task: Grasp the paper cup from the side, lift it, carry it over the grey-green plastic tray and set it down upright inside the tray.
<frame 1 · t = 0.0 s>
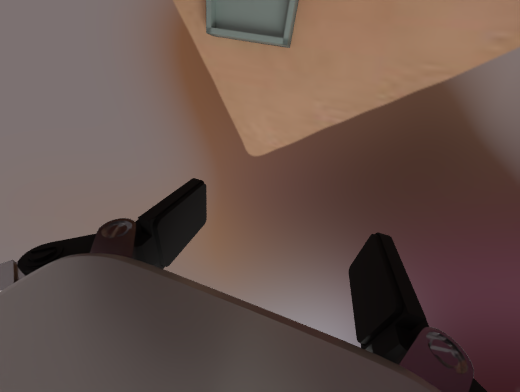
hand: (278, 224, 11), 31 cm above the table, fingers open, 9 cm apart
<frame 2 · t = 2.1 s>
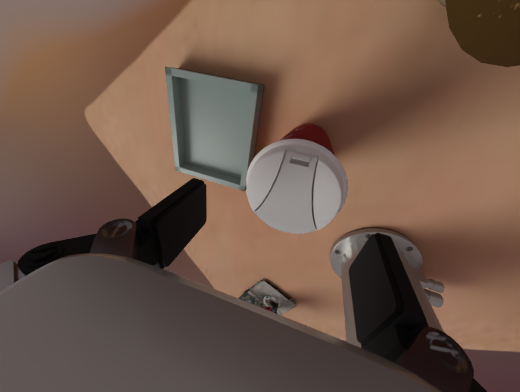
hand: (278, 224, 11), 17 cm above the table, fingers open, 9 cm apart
statue: (266, 296, 45), on the table
tray: (217, 132, 28), on the table
paper cup: (306, 146, 25), on the table
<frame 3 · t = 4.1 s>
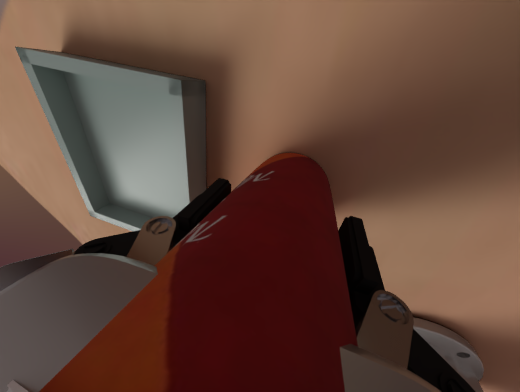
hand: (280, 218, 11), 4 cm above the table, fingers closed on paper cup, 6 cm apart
tray: (145, 159, 17), on the table
paper cup: (290, 187, 14), on the table, touching gripper
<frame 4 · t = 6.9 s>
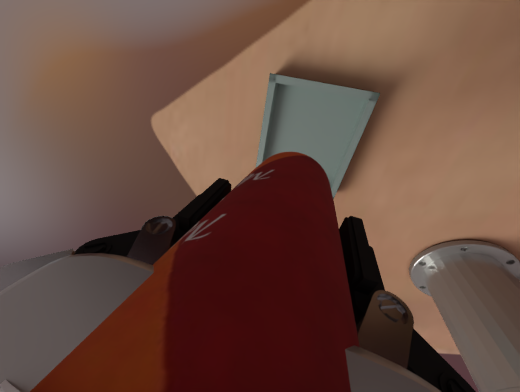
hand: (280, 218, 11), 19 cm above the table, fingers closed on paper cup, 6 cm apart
tray: (306, 140, 26), on the table
paper cup: (290, 187, 14), point 15 cm above the table, touching gripper
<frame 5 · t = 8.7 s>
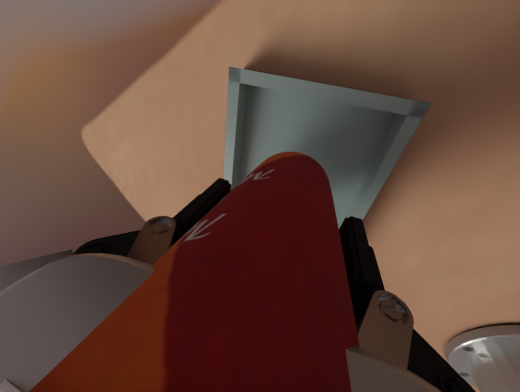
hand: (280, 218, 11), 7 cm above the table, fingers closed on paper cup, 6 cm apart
tray: (296, 172, 17), on the table
paper cup: (290, 187, 14), point 3 cm above the table, touching gripper
when the fingers open (6 cm above the table, at t = 9.9 s): paper cup drops 2 cm, resting on tray.
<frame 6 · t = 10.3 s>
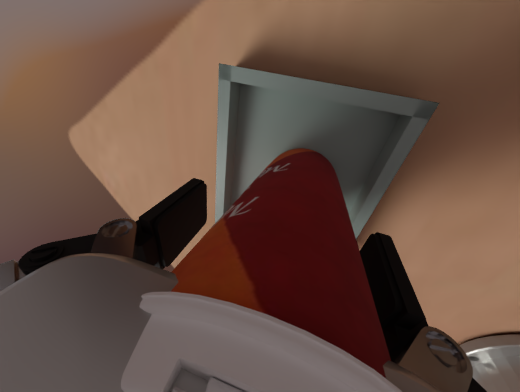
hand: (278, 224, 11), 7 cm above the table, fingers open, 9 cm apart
tray: (293, 175, 16), on the table
paper cup: (300, 181, 16), point 1 cm above the table, touching tray
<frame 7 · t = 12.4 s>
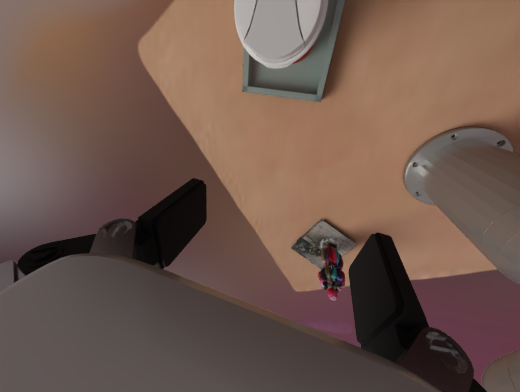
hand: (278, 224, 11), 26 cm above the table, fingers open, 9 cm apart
statue: (321, 242, 44), on the table
tray: (290, 39, 27), on the table
paper cup: (294, 39, 26), point 1 cm above the table, touching tray
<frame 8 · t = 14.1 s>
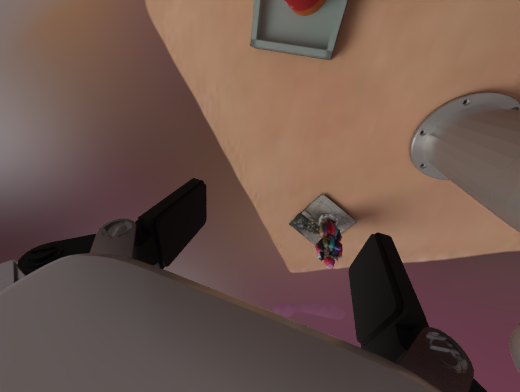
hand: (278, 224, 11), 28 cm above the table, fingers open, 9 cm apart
statue: (320, 219, 43), on the table
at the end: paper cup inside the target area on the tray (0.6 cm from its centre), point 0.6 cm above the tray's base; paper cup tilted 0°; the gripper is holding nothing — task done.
